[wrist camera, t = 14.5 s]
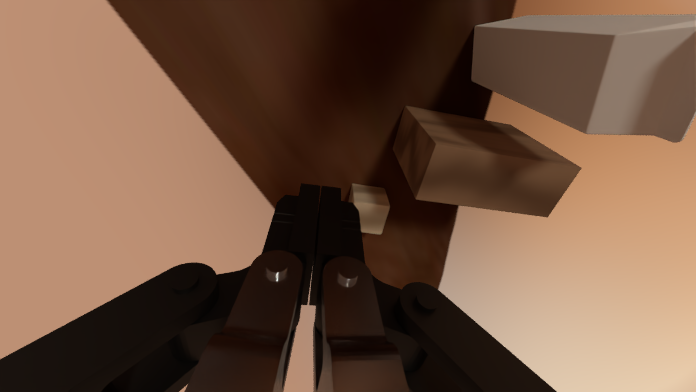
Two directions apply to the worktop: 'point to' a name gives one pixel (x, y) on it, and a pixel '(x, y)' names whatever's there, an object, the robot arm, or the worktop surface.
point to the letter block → (370, 207)
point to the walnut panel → (479, 163)
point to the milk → (595, 70)
